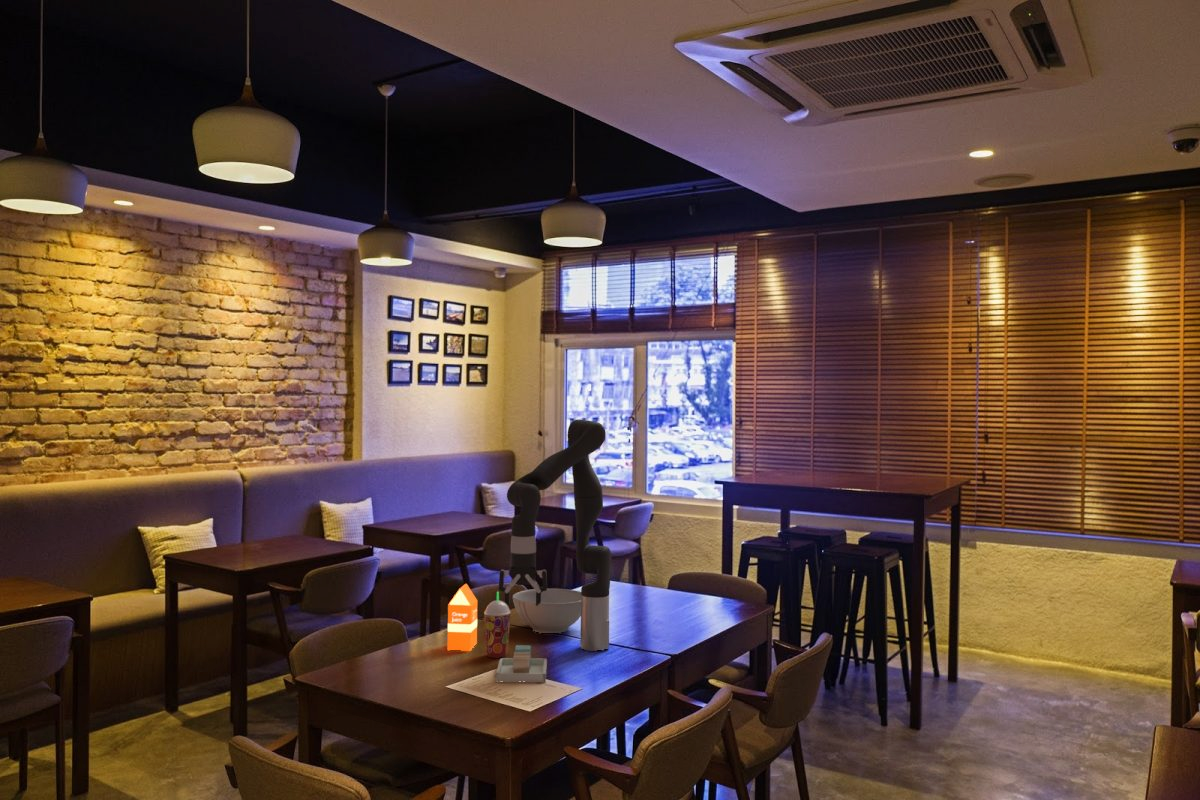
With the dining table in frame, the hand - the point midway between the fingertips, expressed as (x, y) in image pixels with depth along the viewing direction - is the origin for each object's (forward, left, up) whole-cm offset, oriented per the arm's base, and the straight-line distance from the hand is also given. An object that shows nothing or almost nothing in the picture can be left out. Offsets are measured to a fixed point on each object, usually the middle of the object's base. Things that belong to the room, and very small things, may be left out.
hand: (522, 605), depth 261 cm
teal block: (0, 0, -18) cm, 18 cm away
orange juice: (+21, -26, -20) cm, 38 cm away
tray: (0, +4, -19) cm, 20 cm away
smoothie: (+9, -16, -19) cm, 26 cm away
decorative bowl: (-7, -50, -20) cm, 54 cm away
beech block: (0, +8, -18) cm, 20 cm away
